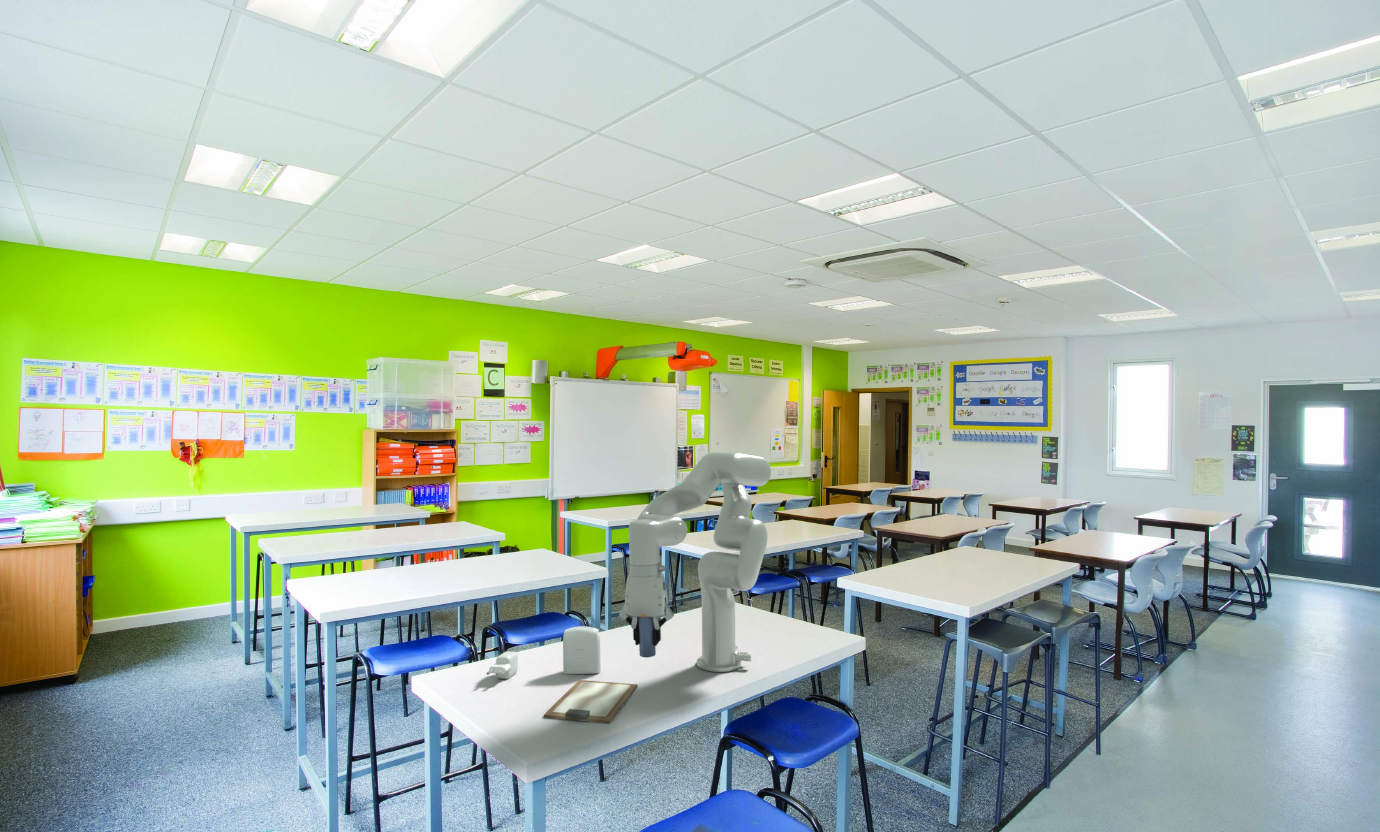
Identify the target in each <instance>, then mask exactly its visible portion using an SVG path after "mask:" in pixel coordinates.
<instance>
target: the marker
mask: <svg viewBox="0 0 1380 832" xmlns="http://www.w3.org/2000/svg"><path fill="white" fill-rule="evenodd" d="M638 620H639V645H638V646H639V647H638V648H639V649H638V650H639V656H640V657H642V658H652V657H655V656H656V655H657V651H656V650H657V648H656V647H657V646H654V645H653V629H654V622H653V617H648V616H646V614H642V616H641V617H638Z"/></svg>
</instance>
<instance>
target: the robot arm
mask: <svg viewBox="0 0 1380 832" xmlns="http://www.w3.org/2000/svg"><path fill="white" fill-rule="evenodd" d="M771 474H772V469H771V465H770V463H769V462H768V460H767V459H766V458H764V457H762V456H757V455H750V454H745V453H739V452H708V453H706V454H704V456H702V457H701V459H700V460H699V461H698V462H697V464H695V466H694V467H693V469H692V470H691V471H690V472H689V473H688V474H687V476H686V477H685V478H684V479H683V480H682V482H681V483H680V484H678V485H675V486H674V487H671V488H669V490H667V491H665V492H663V493H662V494H659V495H658V496H656V497H654V499H652V500H651V501H650V502H649V503H648V504H647V505H646V506H645V507H644V509H643V510H642V511H641V513H640V514H639V516H638V517H637V519H635V520H633V521H631V522H630V523H629V525H628V546H629V547H628V550H629V553H628V554H629V574H627V579H626V586H625V594H624V595H625V596H624V598H625V599H624V605H623V606H622V608H621V610H620V611H619V614H618V615H619V617H621V618H622V619H623V620H624V621H626V622H627V623H628V625H629V626H630V627H631V629H632V635H633V639H632V640H633V641H634V643H635V646H639V620H638V617H641V616H642V614H646V616H648V617H653V622H654V629H653V645H654V646H655V647H657V646H658V645H659V643H660V642H661V640H662V634H661V632H662V630H661V629H662V627H663V625H665V623H666V622H668V621H670V620H672V619H673V618H674V616H675V614H674V612H673V611H672V609H671V608H670V606H669V602H668V591H667V585H666V580H665V575H664V574H663V572H666V570H667V568H666V565H664V564H662V563H661V562H662V561H661V556H660V554H661V553H660V552H661V551H660V548H661V547H672V546H674V547H675V546H677V545H679V544H681V543H683V542H684V540H685V539H686V537H687V534H688V526H687V524H686V522H685V520H684V519H682V518H680V517H678V516H676V515H677V514H681V513H684V512H688V511H691V510H694V509H697V508H700V507H702V506H703V505H705V504H706V503H707V501H708V500H709V499H710V497H711V496H712V495H713V494H714V492H715V491H717V490H716V489H718V487H719V486H721V490H722V495H723V500H722V501H723V502H722V505H721V508H720V511H719V512H720V513H719V515H718V519H717V522H716V525H715V528H714V533H713V542H714V544H715V545H716V546H717V547H719V548H721V549H723V550H728V551H736V552H739V554H736V553H732V552H731V553H730V552H725V551H710V552H708V551H707V552H706V553H704V554H703V555H702V556H701V557H700V559H699V561H698V564H697V573H698V574H697V575H698V579H699V585H700V591H701V593H700V594H701V655H700V656H699V657H698V658H697V659H696V665H697V667H698V668H699V669H701V670H703V671H707V672H713V673H724V672H731V671H734V670H737V669H739V668H740V667H741V666H742V662H743V661H744V662H750V663H751V661H752V654H751V653H750V654H749V652H748V651H740V650H739V647H738V646H736V599H735V595H734V593H733V590H736V591H743V592H744V591H745V592H746V591H750V590H751V589H752V588H753V587H754V586H755V584H756V583H757V580H758V577H759V573H760V572H761V571H760V569H761V566H762V564H763V561H764V559H763V558H764V555H765V553H766V548H767V544H768V531H767V527H766V525H765V524H764V522H762V521H761V520H759V519H757V518H756V519H755V518H750V514H751V511H752V505H753V504H752V500H751V497H750V495H749V492H748V491H747V489H746V487H745V486H747V487H762V486H765V485H766V484H767V483H768V482H769V480H770V479H771ZM665 614H666V615H665Z"/></svg>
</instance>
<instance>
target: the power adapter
mask: <svg viewBox="0 0 1380 832" xmlns="http://www.w3.org/2000/svg"><path fill="white" fill-rule="evenodd" d="M518 659H519V658H518V652H516V651H508V650H507V651H504V652H503V653H500V655H498V656H497V657H496V659H495V663H494V664H493V665H491V666H490V667H489V669H488V671H487V672H486V675H487V676H488V675H490V674H495V677H496V678H497V679H502V680H508V679H510V678H512V677H513V676H514V675H516V674H517V672H518V664H519V663H518V661H519V660H518Z"/></svg>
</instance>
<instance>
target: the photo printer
mask: <svg viewBox="0 0 1380 832" xmlns="http://www.w3.org/2000/svg"><path fill="white" fill-rule="evenodd" d="M562 662H563V663H562V667H563V668H562V669H563V674H564V675H584V674H585V675H586V674H587V675H588V674H590V675H591V674H592V675H593V674H600V673H601V667H602V666H601V635H600V629H599V628H595V627H591V626H584V625H583V626H574V627H569V628H567V629H565V630H564V632H563V637H562Z"/></svg>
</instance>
